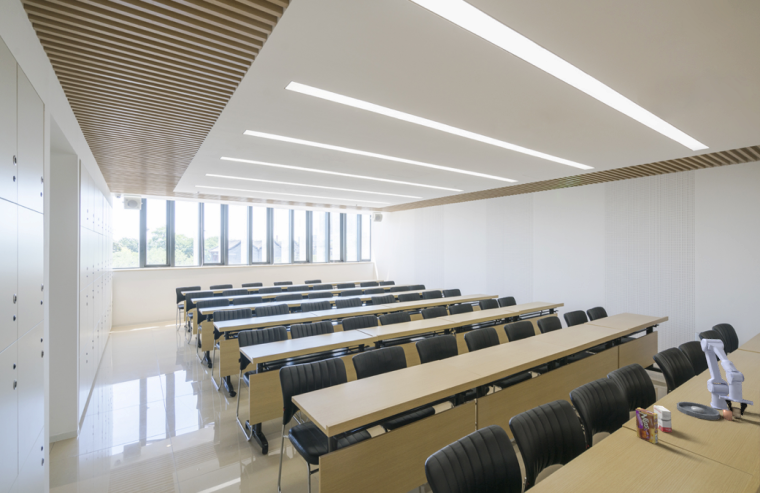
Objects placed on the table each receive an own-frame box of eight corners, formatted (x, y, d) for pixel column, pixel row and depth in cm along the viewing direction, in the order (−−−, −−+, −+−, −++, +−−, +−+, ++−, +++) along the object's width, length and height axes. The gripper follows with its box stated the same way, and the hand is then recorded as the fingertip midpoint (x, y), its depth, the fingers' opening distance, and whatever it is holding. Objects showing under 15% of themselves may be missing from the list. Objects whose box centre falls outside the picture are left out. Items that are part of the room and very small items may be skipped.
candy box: (659, 442, 184) (658, 413, 184) (654, 444, 182) (653, 415, 183) (640, 434, 192) (639, 407, 192) (636, 436, 190) (635, 408, 191)
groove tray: (676, 403, 232) (676, 399, 233) (717, 411, 220) (716, 407, 220) (677, 413, 217) (677, 409, 217) (722, 422, 204) (721, 418, 204)
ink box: (672, 432, 194) (671, 411, 194) (662, 432, 195) (661, 411, 195) (663, 425, 202) (662, 405, 202) (653, 424, 203) (653, 404, 203)
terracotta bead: (722, 416, 212) (722, 408, 212) (731, 418, 210) (731, 410, 210) (723, 419, 209) (723, 411, 209) (733, 421, 206) (732, 412, 207)
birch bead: (731, 414, 213) (730, 405, 213) (740, 415, 211) (740, 407, 211) (732, 416, 210) (732, 408, 210) (741, 418, 208) (741, 409, 208)
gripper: (720, 390, 212) (720, 412, 212) (754, 396, 203) (755, 419, 203) (718, 387, 218) (719, 408, 217) (751, 392, 209) (752, 415, 208)
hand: (736, 413), depth 210 cm, fingers closed on birch bead, 4 cm apart
